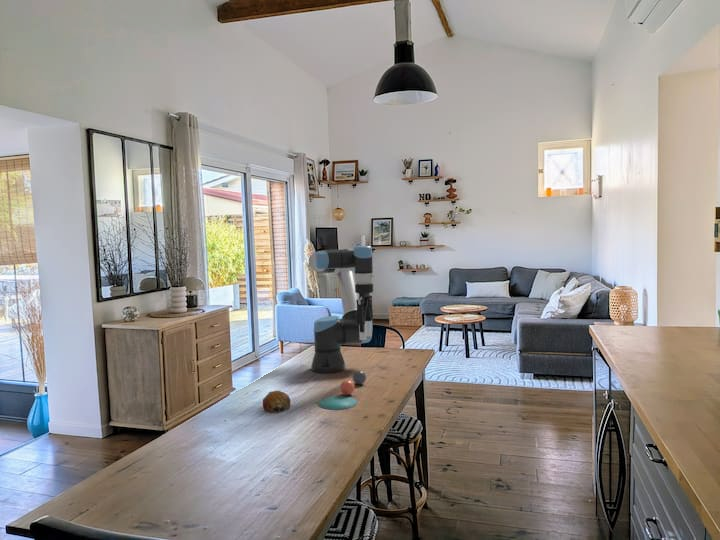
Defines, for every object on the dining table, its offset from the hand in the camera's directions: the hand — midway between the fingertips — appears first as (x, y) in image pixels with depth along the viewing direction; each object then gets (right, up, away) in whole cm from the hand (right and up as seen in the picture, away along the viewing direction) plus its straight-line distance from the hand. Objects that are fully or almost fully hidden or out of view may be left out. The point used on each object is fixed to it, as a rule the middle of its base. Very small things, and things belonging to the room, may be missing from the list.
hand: (365, 337), depth 222 cm
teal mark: (-10, -20, -30) cm, 38 cm away
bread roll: (-32, -21, -34) cm, 51 cm away
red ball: (-7, -16, -21) cm, 27 cm away
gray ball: (-3, -15, -8) cm, 17 cm away
